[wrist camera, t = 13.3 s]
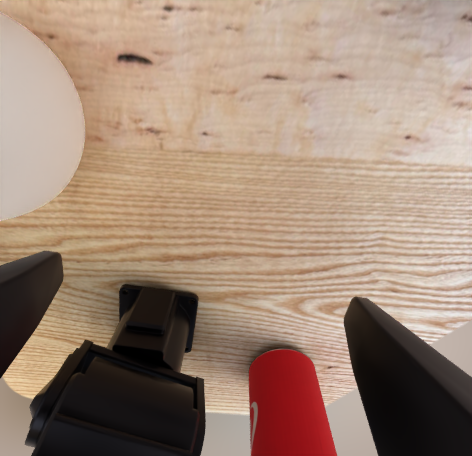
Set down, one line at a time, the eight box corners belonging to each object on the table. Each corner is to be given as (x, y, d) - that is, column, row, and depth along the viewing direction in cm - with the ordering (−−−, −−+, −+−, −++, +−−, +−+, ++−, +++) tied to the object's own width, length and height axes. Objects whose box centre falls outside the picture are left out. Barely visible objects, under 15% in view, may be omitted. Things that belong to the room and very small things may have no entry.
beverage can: (241, 380, 30) (240, 547, 20) (258, 336, 28) (268, 500, 17) (300, 392, 31) (331, 559, 20) (323, 349, 28) (373, 516, 17)
